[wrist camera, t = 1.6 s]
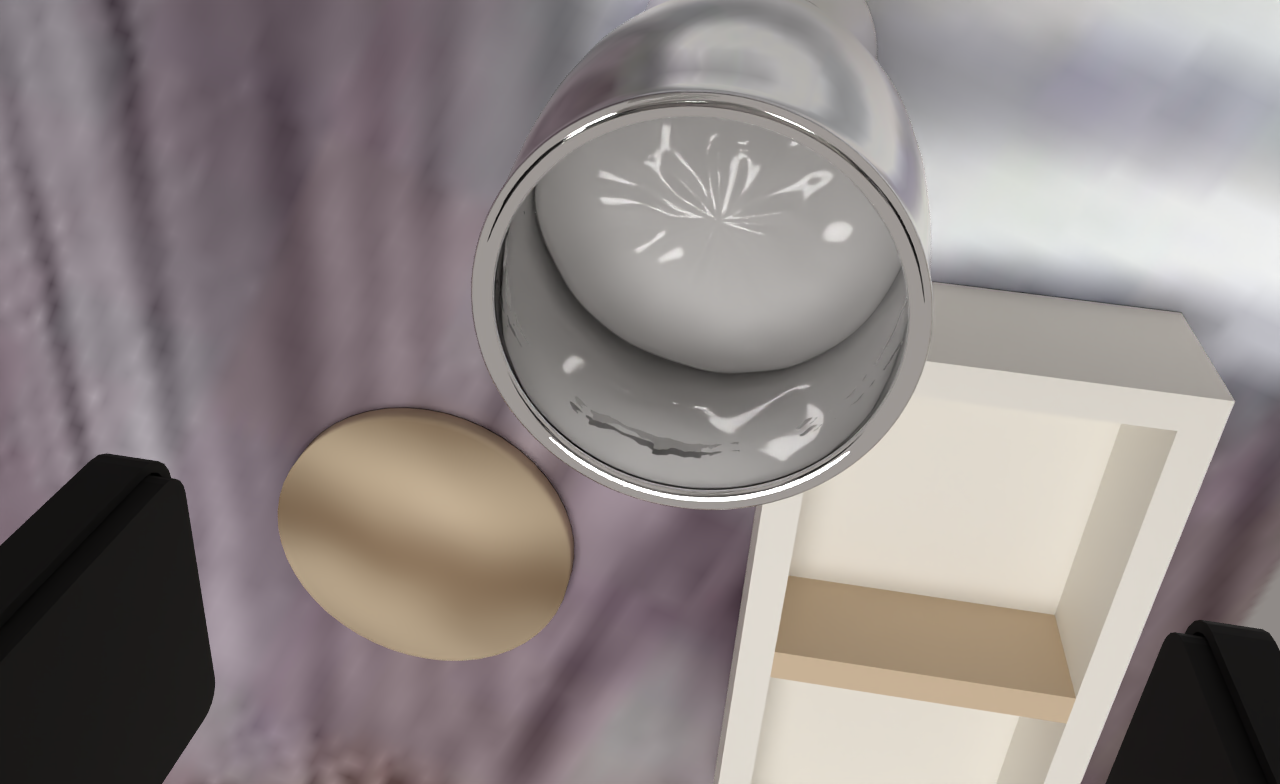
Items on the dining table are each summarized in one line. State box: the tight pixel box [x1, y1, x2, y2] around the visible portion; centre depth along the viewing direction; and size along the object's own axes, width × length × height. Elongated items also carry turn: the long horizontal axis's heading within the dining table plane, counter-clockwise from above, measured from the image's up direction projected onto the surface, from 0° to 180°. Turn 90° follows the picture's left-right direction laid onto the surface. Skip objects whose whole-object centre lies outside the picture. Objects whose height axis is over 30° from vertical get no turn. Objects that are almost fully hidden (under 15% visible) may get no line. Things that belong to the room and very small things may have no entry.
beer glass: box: [471, 0, 933, 510], centre depth 22 cm, size 7×7×15 cm
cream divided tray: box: [714, 282, 1235, 784], centre depth 34 cm, size 21×10×5 cm, turn 176°
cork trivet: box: [278, 408, 574, 661], centre depth 38 cm, size 10×10×1 cm
